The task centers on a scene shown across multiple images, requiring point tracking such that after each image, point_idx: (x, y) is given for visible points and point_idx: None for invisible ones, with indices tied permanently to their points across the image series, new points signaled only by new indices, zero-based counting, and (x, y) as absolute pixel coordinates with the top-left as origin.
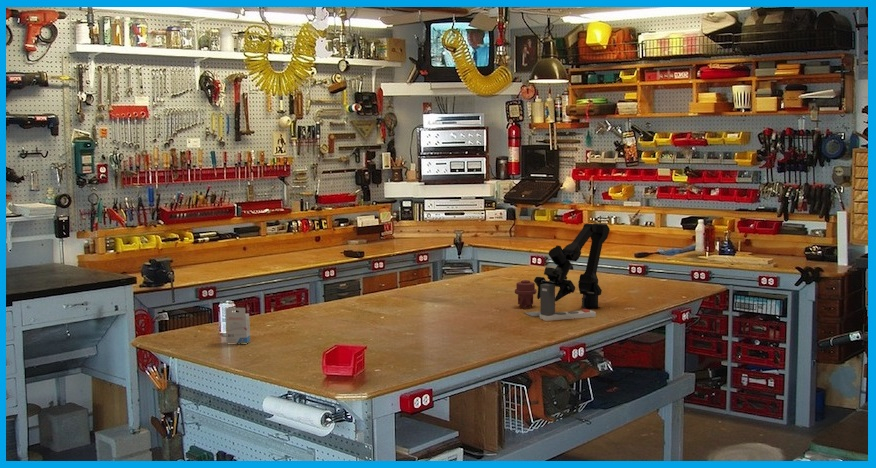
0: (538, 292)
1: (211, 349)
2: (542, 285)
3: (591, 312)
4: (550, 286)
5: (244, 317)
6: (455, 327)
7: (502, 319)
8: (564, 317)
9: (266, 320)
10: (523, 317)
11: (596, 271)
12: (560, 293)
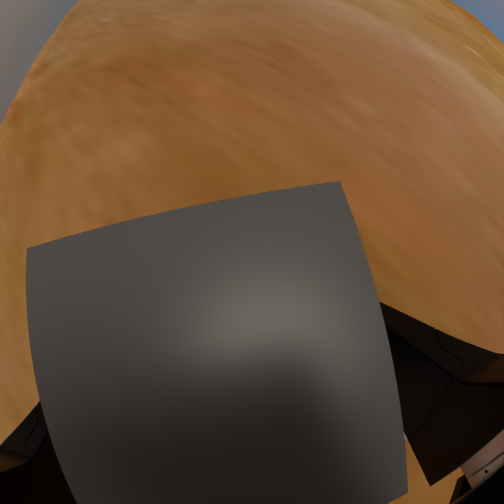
0: (405, 323)
1: None
2: (256, 201)
3: None
4: (47, 327)
5: None
6: (325, 21)
7: (378, 154)
8: None
9: (464, 13)
10: (371, 264)
11: None
12: (37, 422)
